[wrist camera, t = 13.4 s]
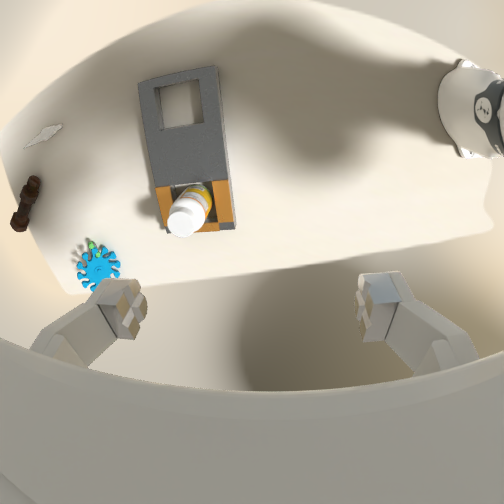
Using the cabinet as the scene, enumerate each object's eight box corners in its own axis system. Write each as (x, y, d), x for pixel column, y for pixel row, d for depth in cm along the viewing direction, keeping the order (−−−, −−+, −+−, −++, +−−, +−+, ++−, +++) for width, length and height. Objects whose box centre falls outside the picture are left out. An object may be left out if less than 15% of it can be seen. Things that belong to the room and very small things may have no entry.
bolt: (47, 175, 44) (29, 218, 50) (30, 167, 40) (14, 212, 46) (40, 192, 41) (24, 236, 46) (21, 183, 37) (8, 229, 43)
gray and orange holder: (217, 67, 32) (214, 65, 30) (236, 223, 46) (234, 230, 44) (143, 83, 33) (136, 83, 31) (170, 228, 47) (166, 234, 45)
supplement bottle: (194, 218, 46) (177, 248, 38) (176, 193, 43) (154, 218, 35) (220, 204, 44) (207, 232, 36) (202, 177, 42) (184, 199, 34)
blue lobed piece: (125, 286, 54) (83, 299, 47) (118, 274, 58) (79, 286, 51) (116, 238, 49) (71, 250, 43) (110, 230, 53) (68, 241, 47)
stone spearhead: (63, 117, 36) (57, 119, 34) (66, 129, 37) (60, 132, 36) (24, 142, 38) (18, 144, 37) (27, 152, 40) (21, 155, 38)
